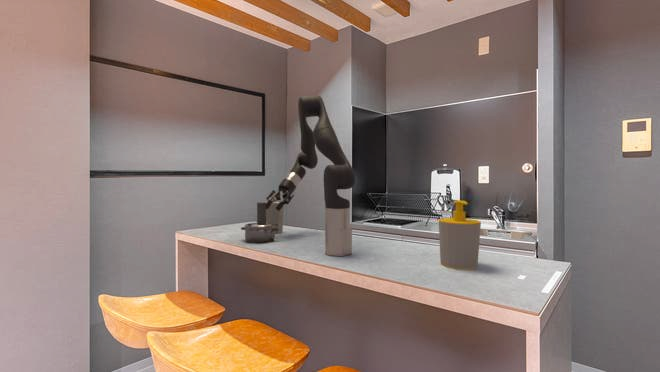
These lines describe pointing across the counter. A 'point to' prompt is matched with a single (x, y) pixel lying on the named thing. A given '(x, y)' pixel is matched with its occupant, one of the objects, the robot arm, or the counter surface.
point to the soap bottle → (459, 240)
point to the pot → (259, 233)
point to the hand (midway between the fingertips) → (271, 208)
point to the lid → (261, 215)
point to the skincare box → (275, 216)
